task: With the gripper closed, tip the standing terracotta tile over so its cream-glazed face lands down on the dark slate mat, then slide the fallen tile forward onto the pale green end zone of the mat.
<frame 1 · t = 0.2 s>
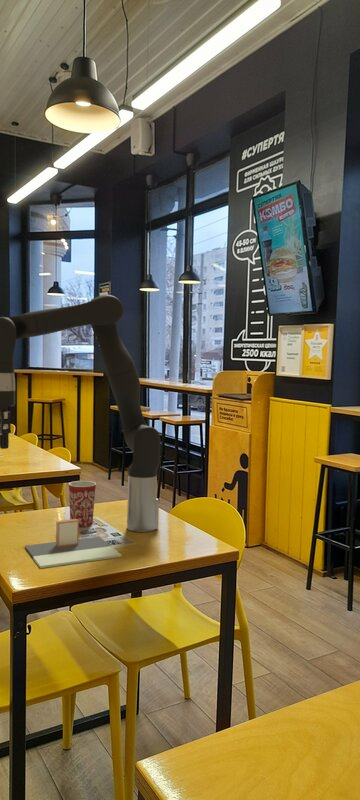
hand: (1, 446, 158), 28 cm above the table, fingers open, 8 cm apart
tile: (67, 532, 159), point 4 cm above the table, touching mat
mug: (80, 523, 185), on the table
mat: (72, 552, 155), on the table
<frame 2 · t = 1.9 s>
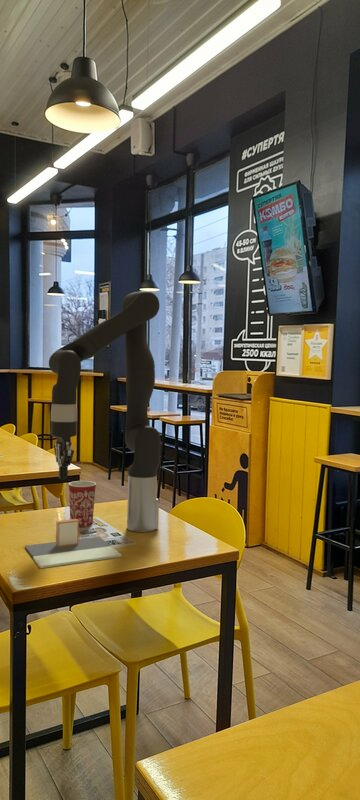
hand: (63, 478, 163), 19 cm above the table, fingers closed
nothing on the table moved.
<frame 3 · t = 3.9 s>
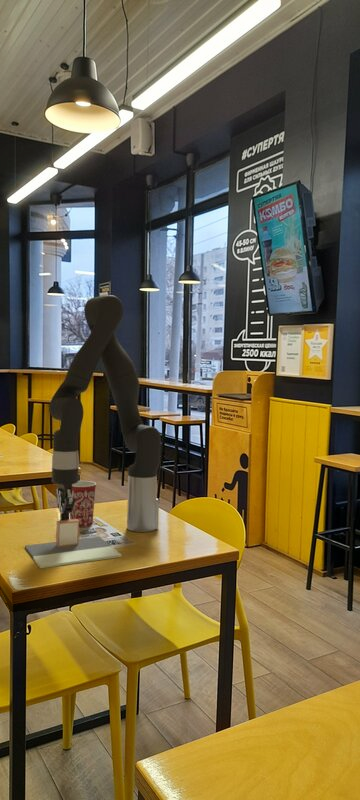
hand: (64, 525, 161), 6 cm above the table, fingers closed
tile: (67, 532, 159), point 4 cm above the table, touching gripper, mat
everything else where it was.
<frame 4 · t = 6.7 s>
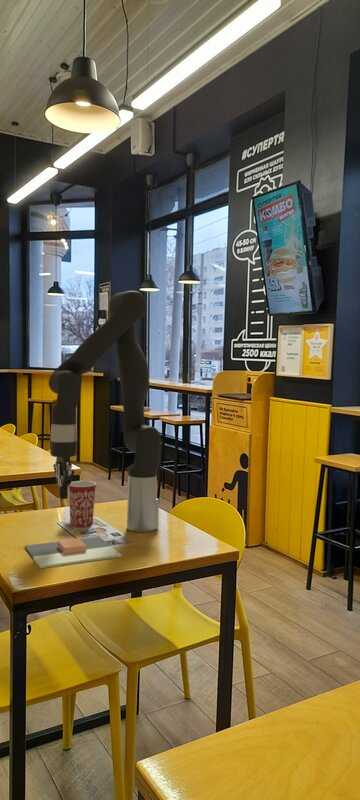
hand: (63, 498, 163), 13 cm above the table, fingers closed
tile: (71, 546, 155), point 2 cm above the table, tilted 90°, touching mat
everything else where it was.
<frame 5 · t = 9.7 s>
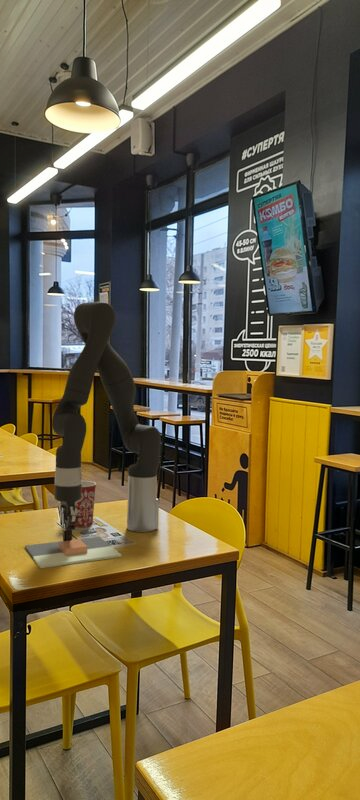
hand: (67, 542, 159), 1 cm above the table, fingers closed
tile: (73, 547, 155), point 2 cm above the table, tilted 90°, touching gripper
everything else where it was.
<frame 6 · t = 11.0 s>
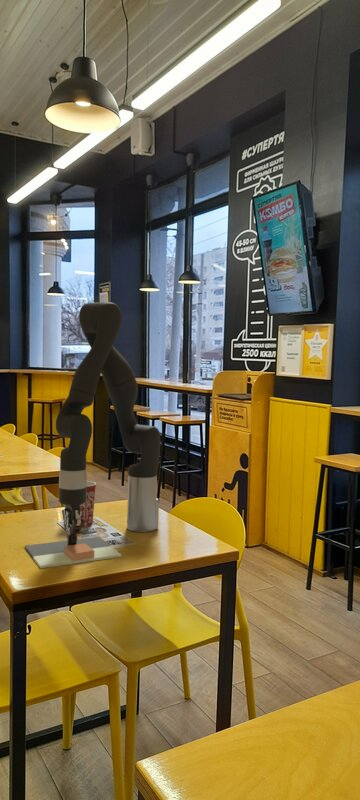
hand: (72, 547, 155), 1 cm above the table, fingers closed
tile: (79, 551, 151), point 2 cm above the table, tilted 90°, touching gripper, mat
everything else where it was.
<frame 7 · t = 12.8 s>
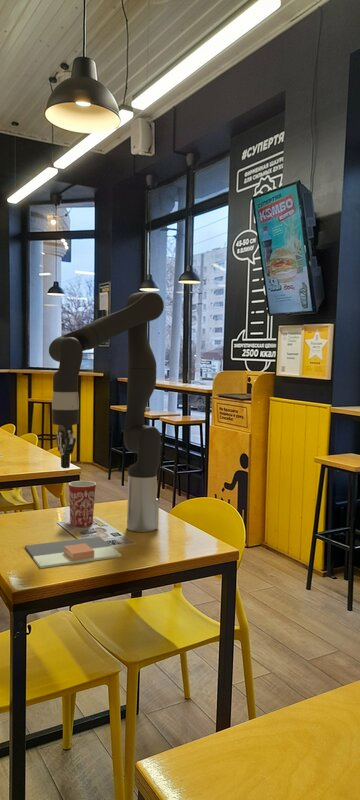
hand: (65, 467, 161), 22 cm above the table, fingers closed
tile: (79, 551, 151), point 2 cm above the table, tilted 90°, touching mat
everything else where it was.
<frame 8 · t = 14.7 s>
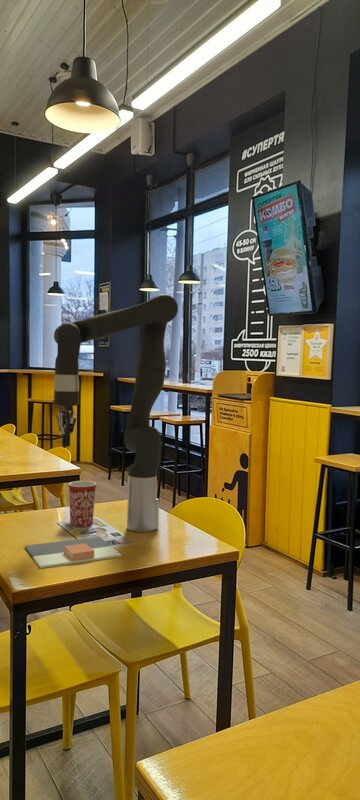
hand: (65, 446, 171), 27 cm above the table, fingers closed
nothing on the table moved.
at the end: tile tilted 90°; tile inside the target area (1.0 cm from its centre), point 1.5 cm above the table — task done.
